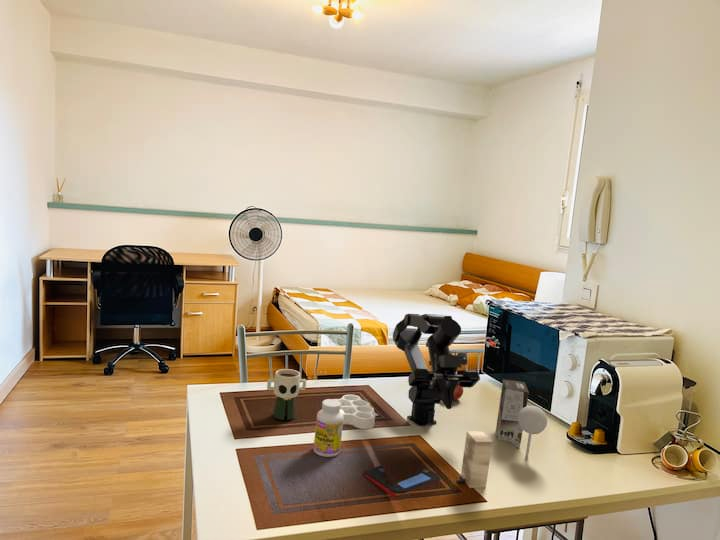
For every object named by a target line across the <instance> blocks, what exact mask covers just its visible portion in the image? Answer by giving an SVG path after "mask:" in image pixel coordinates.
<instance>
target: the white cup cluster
mask: <svg viewBox="0 0 720 540" xmlns="http://www.w3.org/2000/svg"><path fill="white" fill-rule="evenodd" d="M333 399H334V400H338V401H340V402H341V409H340V412H341V413H342V414H343V417H344V419H343V426H344V425H349V426H350V425H351V426H354V427H355V428H357V429H361V430H370V429H373V428H374V427H375V420H376V417H378V416H379V414H378V413H377V412H375V408H374V407H373V406H371V403H370V402H368V401H367V400H364V399H362V398H361V396H359V395H356V394H344V395H343V396H342V397H341V398H333Z"/></svg>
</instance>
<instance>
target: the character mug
mask: <svg viewBox="0 0 720 540" xmlns="http://www.w3.org/2000/svg"><path fill="white" fill-rule="evenodd" d="M272 383H273V386H272ZM300 383H302V386H300V385H301V384H300ZM266 386H267V387H266V389H267V390H268V391H273V394H274V395H275V397H276V399H275V403H274V408H273V412H272V415H273V416H274V418H275V419H277V420H281V421H282V420H283V421H284V420H285V418H287V420H292V419H294V418H295V417H296V399H295V398H296V397H297V396H298V395H299V393H300V392H299V391H305V390H306V387H307V379H306V378H301V372H299V371H297V370H295V369H290V368H282V369H278V370H276V371H275V374H274V378H269V379H268V380H267V383H266Z"/></svg>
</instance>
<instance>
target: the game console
mask: <svg viewBox="0 0 720 540" xmlns="http://www.w3.org/2000/svg"><path fill="white" fill-rule="evenodd" d="M422 472H423V473H422ZM422 472H421V473H419V474H417V475H414V476H411V477H409V478H407V479H404V480H402V481H400V482H398V483H397V484H395V485H394V481H389V479H388V477H387V475H386V472H385V471H384V468H383V465H380V466H376V467H373V468H369V469H366V470H363V471H362V474H363V475H364V476H365V477H366V478H367V479H368V480H370V481H371V482H372V483H374V484H375V485H376V486H378V488H380V489H382V490H383V491H384V492H386V493H387V494H388V495H389V496H390V497H391V498H394V499H398V497H397V495H396V494H397V493H398V494H406V493H409V492H411V491H415V490H417V489H420V488H423V487H426V486H429V485H431V484H434V483H437V482H439V481H441V477H440V475H439V474H438V473H436V472H434V471H432V470H428V469H422Z"/></svg>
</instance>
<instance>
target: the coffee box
mask: <svg viewBox="0 0 720 540" xmlns="http://www.w3.org/2000/svg"><path fill="white" fill-rule="evenodd" d="M500 391H501V392H500V398H499V406H498V412H497V420H496V427H495V434H496V435H497V439H498V440H500V441H506V442H509V443H510V444H511V445H512V446H513V447H515V448H521V443H522V437H523V432H524V430H523V429H522V428H521V427H520V425H519V422H518V416H519V413H520V411H521V410H522V409H523V408H524V407H527V406H528V399H529V394H530V392H529V390H528V386H527V384H526V382H523V381H517V380H513V379H512V380H509V379H502V385H501V390H500Z"/></svg>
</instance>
